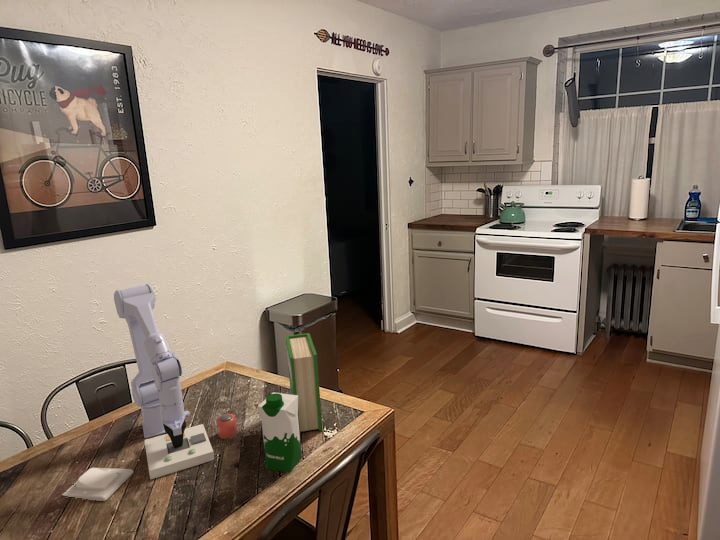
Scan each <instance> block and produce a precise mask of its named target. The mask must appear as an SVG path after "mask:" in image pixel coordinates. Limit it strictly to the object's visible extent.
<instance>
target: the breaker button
mask: <svg viewBox="0 0 720 540" xmlns="http://www.w3.org/2000/svg"><path fill="white" fill-rule="evenodd" d="M167 445H168V454H170V453H173V452H177V451H180V450H184V449H187V448H189V446H188V443H187V439H184V440H183V445H182V446H181V447H177V448H174V446H173V444H172V443H169V444H167Z"/></svg>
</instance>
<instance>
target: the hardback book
mask: <svg viewBox="0 0 720 540" xmlns="http://www.w3.org/2000/svg"><path fill="white" fill-rule="evenodd" d="M285 344H286V354H287V364H288V365H287V368H288V376H289V386H290V387H289V389H290V395H298V423H299V435H300V436H301V432H307V431H312V430H318V431H319V433H321V432H320V431H322V432H323V431H324V430H323V421H322V420H323V419H322V417H323V416H322V406H321V393H320V380H319V378H320V377H319V367H318V365H319V364H318V363H319V362H318V353H317V351H316V347H315V346H314V343H313V339H312V336H311V334H310V333H309V332H307V333H306V332H305V333H299V334H298V333H297V334H291V335H285Z"/></svg>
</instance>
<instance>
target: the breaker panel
mask: <svg viewBox="0 0 720 540" xmlns="http://www.w3.org/2000/svg"><path fill="white" fill-rule="evenodd" d="M207 433H208V432H207V431H206V429H205V426H204V424H203V423H201V424H198V425H194V426H193V425H192V426H191V427H186V428H185V431H184V435H183V440H184V439H187V443H188V446H189V448H187V449H184V450H180V451H177V452H173V453H170V454H169V451H168V445H167V444H169V443H172V441H171V439H170V437H169V435H168V434H167V433H166V434H165V433H163V434H160V435H156V436H152V437H149V438H145V439H144V445H145V446H144V447H145V452H146V460H147V466H148V467H147V468H148V474H149V479H150V480H154V479H156V478H159V477H164V476H166V475H170V474H173V473H176V472H180V471H183V470H186V469H189V468H192V467H195V466H198V465H201V464H204V463H208V462H211V461H214V460H215V454H214V449H213V447H212V444H211V442H210V439H209V436H208V434H207Z"/></svg>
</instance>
